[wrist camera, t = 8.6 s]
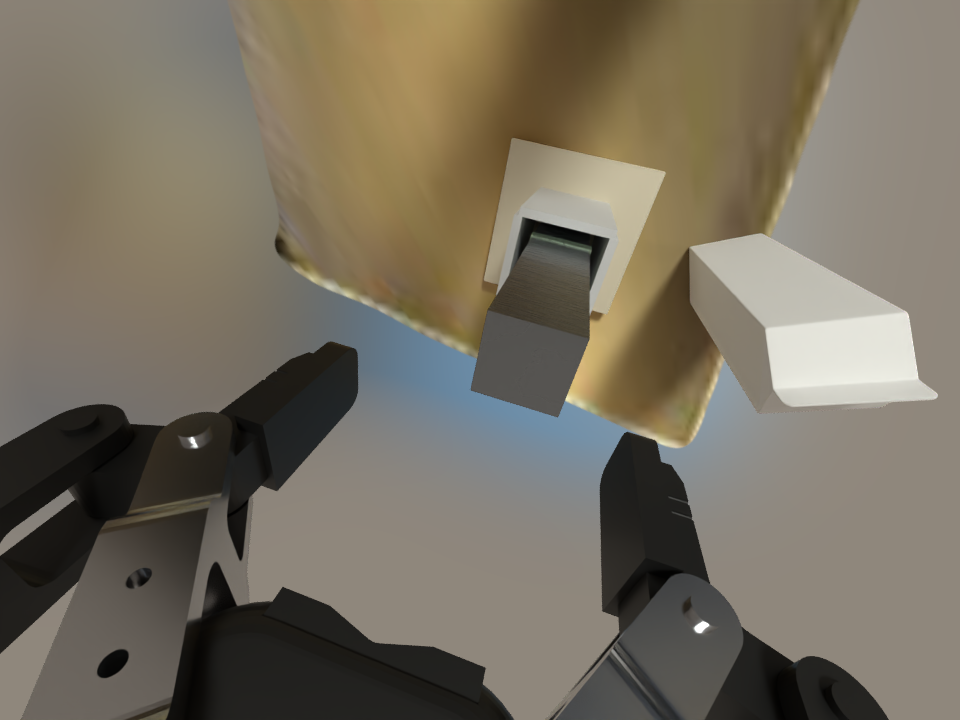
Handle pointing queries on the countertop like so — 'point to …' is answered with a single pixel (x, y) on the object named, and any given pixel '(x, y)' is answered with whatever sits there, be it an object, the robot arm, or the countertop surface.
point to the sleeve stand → (572, 210)
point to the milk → (801, 330)
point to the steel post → (538, 323)
